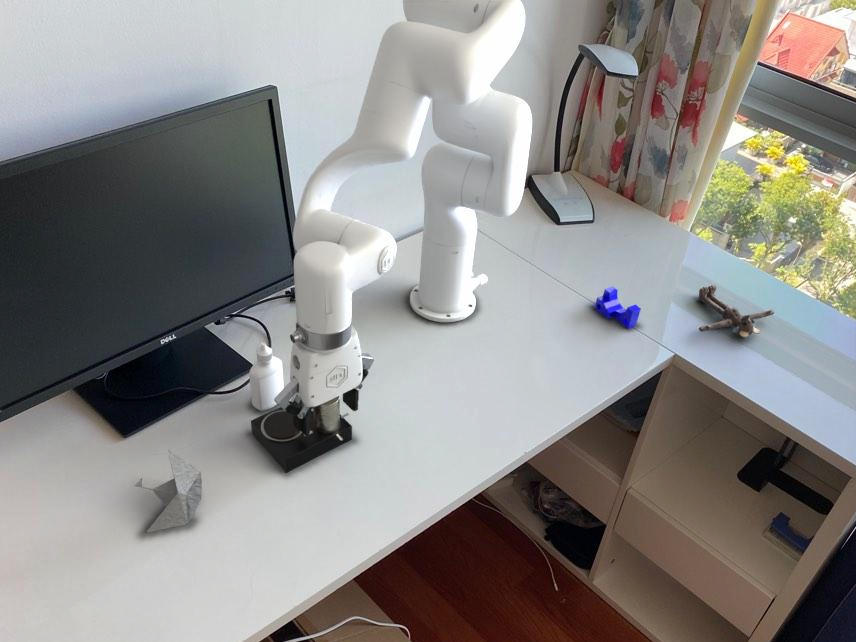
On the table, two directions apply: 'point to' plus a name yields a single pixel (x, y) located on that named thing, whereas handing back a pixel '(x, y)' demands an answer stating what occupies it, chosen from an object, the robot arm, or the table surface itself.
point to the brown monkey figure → (730, 314)
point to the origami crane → (177, 495)
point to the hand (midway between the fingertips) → (326, 417)
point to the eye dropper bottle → (265, 378)
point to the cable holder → (616, 308)
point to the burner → (279, 427)
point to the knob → (327, 416)
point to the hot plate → (302, 442)
